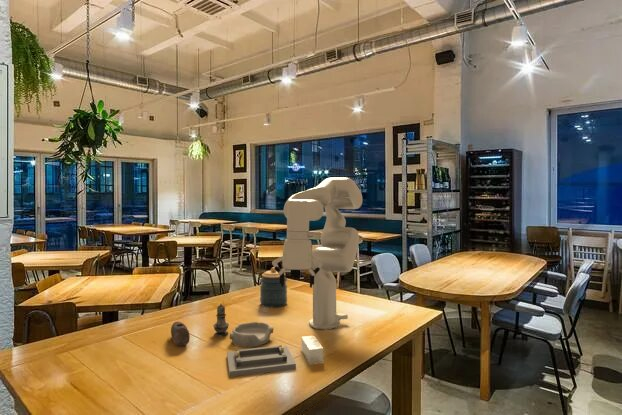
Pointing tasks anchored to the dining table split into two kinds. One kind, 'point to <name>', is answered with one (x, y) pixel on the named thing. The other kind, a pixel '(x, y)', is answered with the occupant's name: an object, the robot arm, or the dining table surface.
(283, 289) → the canister
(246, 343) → the dish
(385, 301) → the dining table surface
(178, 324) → the perforated stone tool
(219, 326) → the dark grey chess piece
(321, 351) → the aluminium bar
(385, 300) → the dining table surface
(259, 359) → the switch frame
